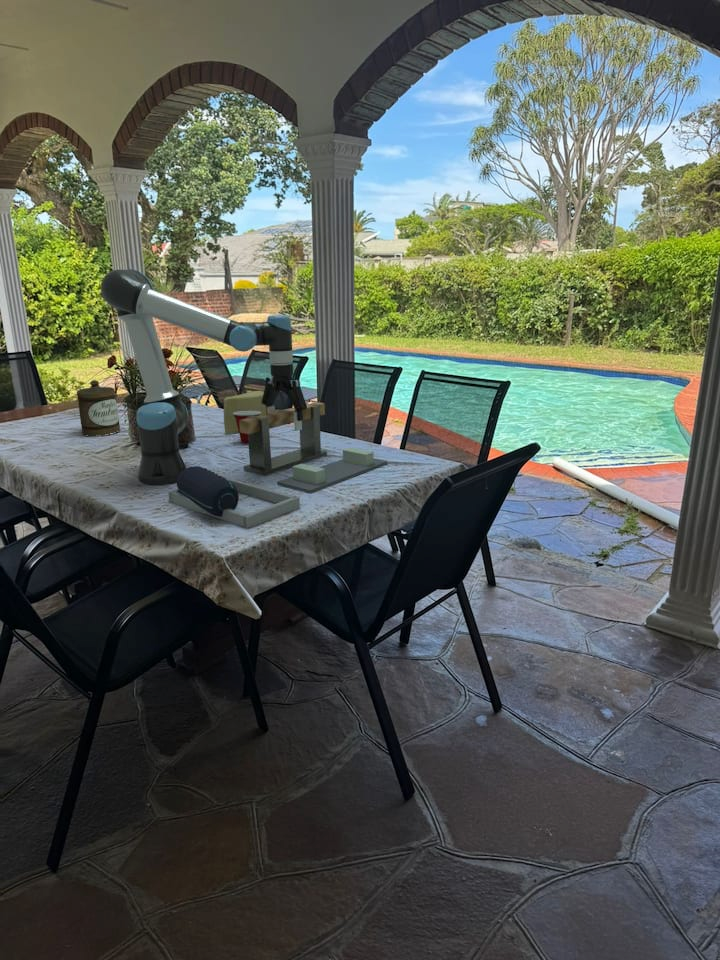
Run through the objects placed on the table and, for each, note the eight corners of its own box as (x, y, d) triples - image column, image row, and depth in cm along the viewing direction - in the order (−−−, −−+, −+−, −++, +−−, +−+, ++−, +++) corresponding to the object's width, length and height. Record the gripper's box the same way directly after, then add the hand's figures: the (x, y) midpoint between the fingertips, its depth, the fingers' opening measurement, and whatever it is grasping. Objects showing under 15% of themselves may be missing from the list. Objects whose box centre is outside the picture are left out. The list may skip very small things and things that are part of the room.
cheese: (233, 436, 259) (230, 399, 255) (218, 432, 265) (215, 397, 261) (274, 426, 275) (272, 391, 270) (259, 423, 281) (257, 389, 277)
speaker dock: (247, 528, 164) (247, 517, 163) (169, 501, 185) (168, 491, 184) (299, 507, 178) (299, 497, 177) (221, 484, 199) (220, 475, 198)
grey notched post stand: (264, 475, 207) (261, 421, 201) (244, 470, 213) (240, 417, 207) (326, 455, 229) (325, 405, 223) (306, 451, 235) (304, 402, 229)
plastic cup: (266, 438, 254) (264, 408, 251) (259, 445, 244) (257, 414, 240) (239, 438, 255) (237, 408, 252) (231, 445, 245) (229, 414, 241)
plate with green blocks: (310, 493, 189) (309, 477, 188) (277, 484, 198) (276, 469, 196) (387, 464, 217) (387, 449, 216) (355, 457, 226) (355, 443, 224)
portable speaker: (246, 515, 173) (243, 480, 170) (211, 524, 167) (208, 487, 164) (206, 492, 192) (203, 460, 189) (174, 499, 186) (171, 466, 183)
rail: (248, 434, 202) (247, 421, 201) (240, 432, 205) (239, 420, 203) (324, 414, 229) (324, 403, 227) (316, 413, 231) (316, 402, 230)
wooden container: (98, 438, 259) (90, 384, 252) (75, 434, 266) (66, 381, 260) (128, 431, 271) (121, 379, 264) (105, 427, 278) (98, 376, 272)
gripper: (316, 364, 206) (318, 430, 213) (264, 359, 221) (268, 421, 227) (300, 367, 200) (303, 434, 207) (248, 362, 215) (252, 425, 222)
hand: (285, 427), depth 217 cm, fingers open, 12 cm apart
